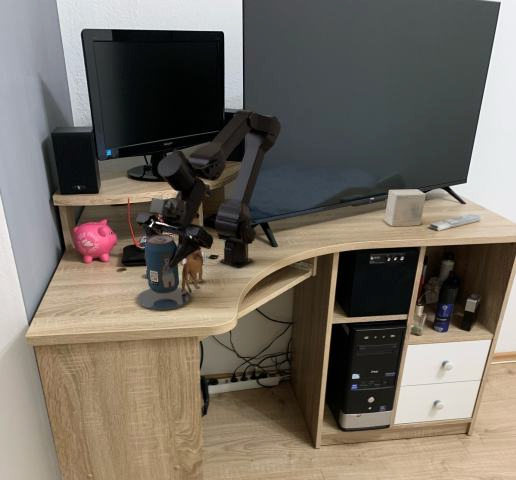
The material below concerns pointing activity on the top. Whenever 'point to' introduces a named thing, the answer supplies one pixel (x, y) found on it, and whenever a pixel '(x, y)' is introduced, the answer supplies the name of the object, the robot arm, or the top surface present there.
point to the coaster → (163, 300)
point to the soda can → (161, 264)
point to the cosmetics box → (404, 207)
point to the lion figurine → (192, 270)
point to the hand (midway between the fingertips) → (157, 263)
